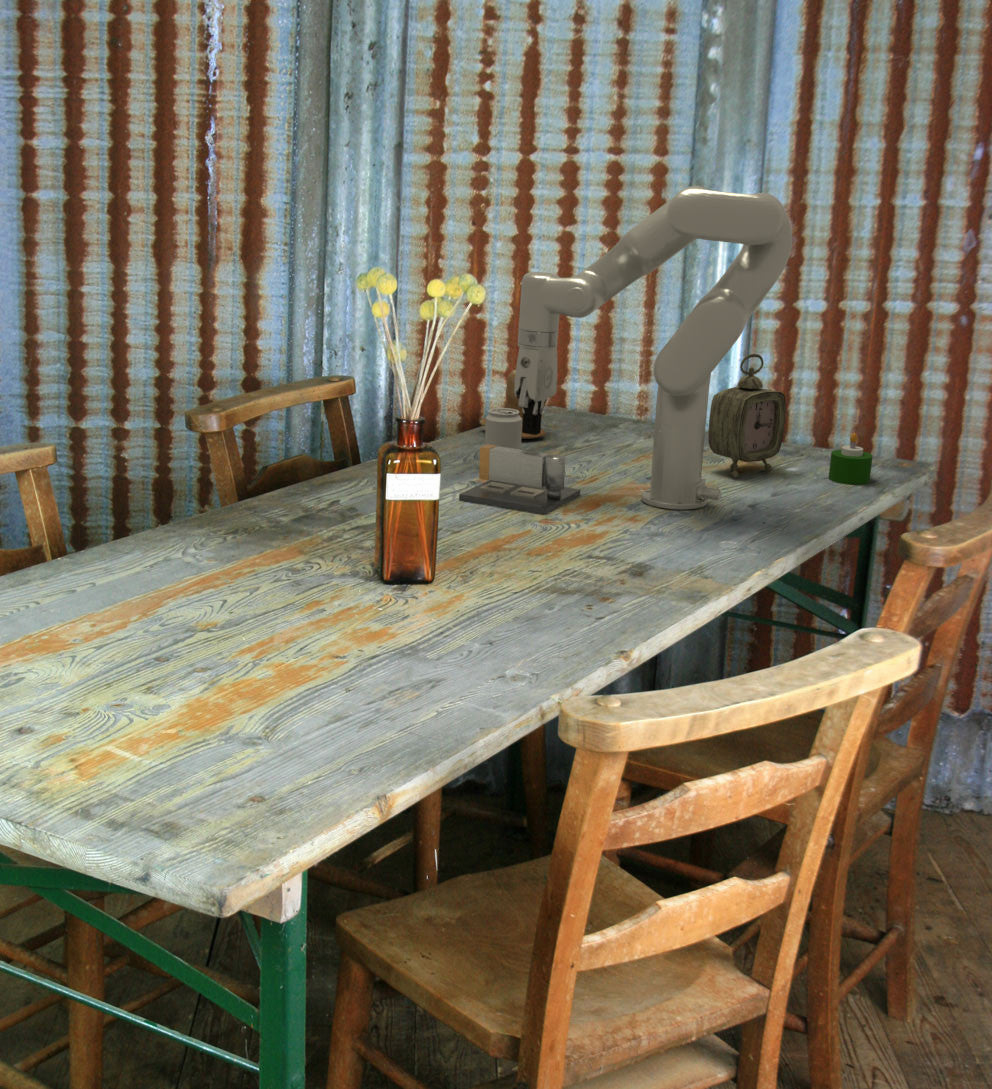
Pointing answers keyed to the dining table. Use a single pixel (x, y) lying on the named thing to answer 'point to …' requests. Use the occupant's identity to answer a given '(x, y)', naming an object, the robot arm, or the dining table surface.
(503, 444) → the can
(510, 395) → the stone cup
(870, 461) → the candle
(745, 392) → the tabletop clock
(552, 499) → the dark grey flat slab
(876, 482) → the dining table surface
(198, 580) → the dining table surface
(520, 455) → the grey block tan end
